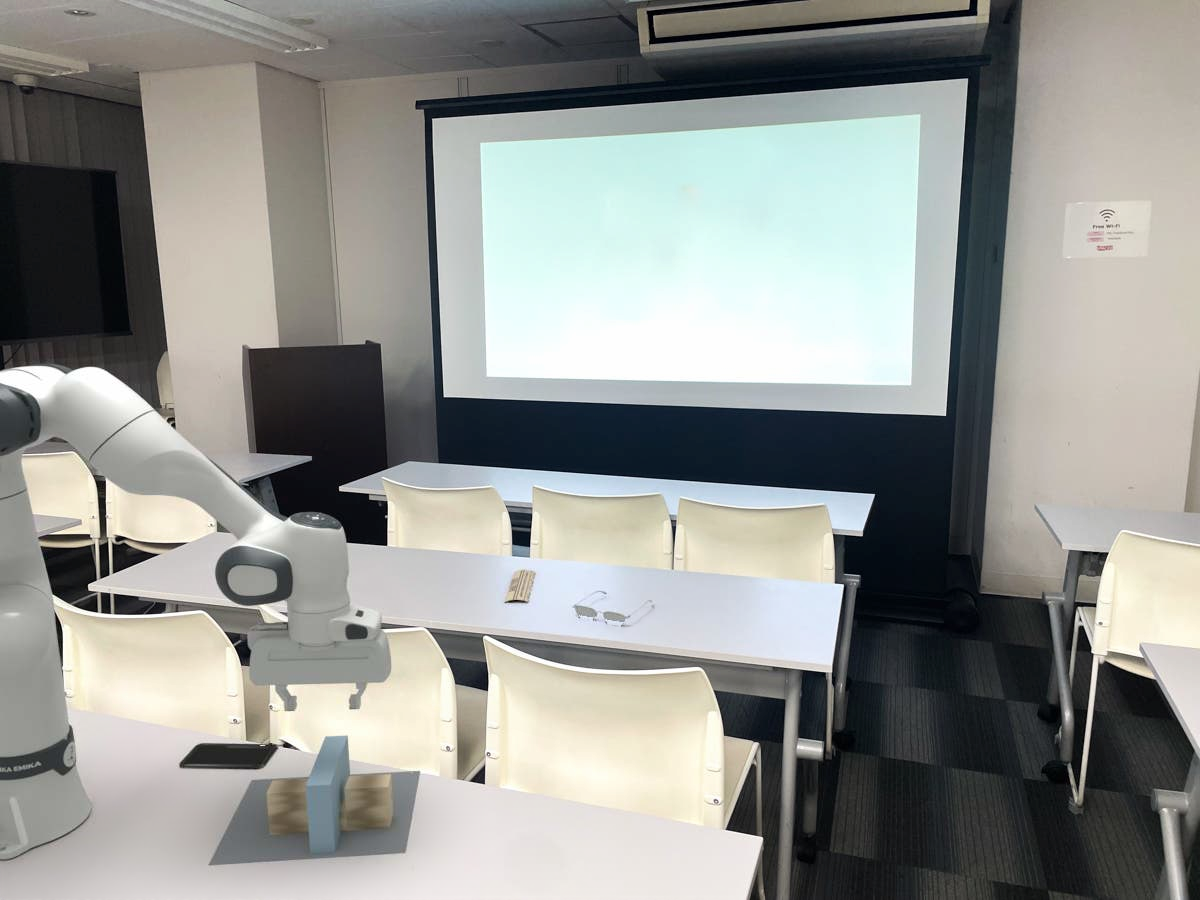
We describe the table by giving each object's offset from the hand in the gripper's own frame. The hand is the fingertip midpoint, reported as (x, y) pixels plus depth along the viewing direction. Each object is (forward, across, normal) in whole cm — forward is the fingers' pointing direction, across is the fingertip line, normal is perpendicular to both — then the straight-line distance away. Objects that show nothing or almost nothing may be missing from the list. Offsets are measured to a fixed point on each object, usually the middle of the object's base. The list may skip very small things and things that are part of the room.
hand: (323, 708), depth 133 cm
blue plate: (+20, 0, 0) cm, 20 cm away
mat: (+20, -1, +3) cm, 20 cm away
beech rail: (+20, +1, 0) cm, 20 cm away
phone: (+21, -21, +22) cm, 37 cm away
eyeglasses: (+19, +55, +85) cm, 103 cm away
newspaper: (+19, +30, +104) cm, 110 cm away
